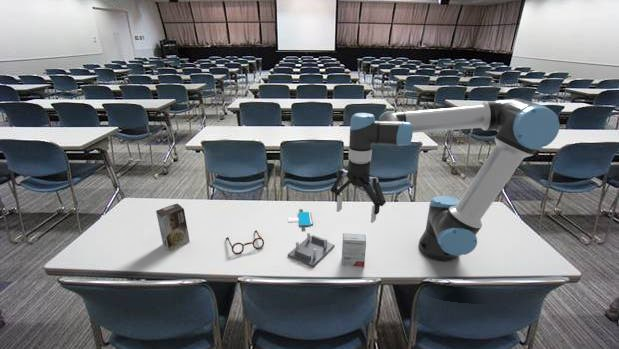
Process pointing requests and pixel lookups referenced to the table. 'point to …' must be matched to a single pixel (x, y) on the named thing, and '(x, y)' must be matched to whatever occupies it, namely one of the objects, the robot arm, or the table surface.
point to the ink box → (353, 250)
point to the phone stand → (302, 219)
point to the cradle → (311, 250)
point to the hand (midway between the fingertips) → (355, 215)
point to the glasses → (246, 243)
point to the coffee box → (173, 226)
